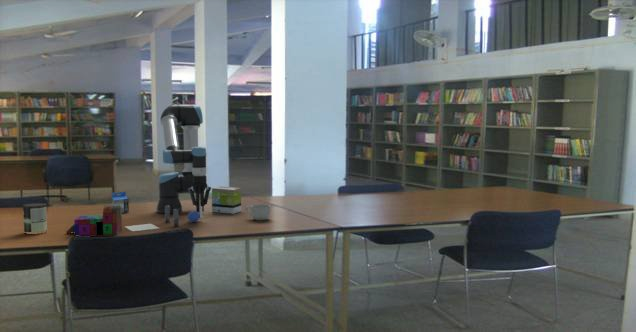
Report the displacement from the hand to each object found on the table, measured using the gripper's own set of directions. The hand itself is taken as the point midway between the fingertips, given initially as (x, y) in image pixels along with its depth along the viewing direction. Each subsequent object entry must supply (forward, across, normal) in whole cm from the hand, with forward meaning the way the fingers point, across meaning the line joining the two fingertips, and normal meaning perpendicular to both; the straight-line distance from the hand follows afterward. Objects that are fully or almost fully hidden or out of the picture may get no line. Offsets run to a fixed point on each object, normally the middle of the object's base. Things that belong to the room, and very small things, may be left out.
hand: (200, 217), depth 303 cm
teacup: (+2, +29, -14) cm, 32 cm away
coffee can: (+2, -79, +19) cm, 81 cm away
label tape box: (+2, -28, +52) cm, 59 cm away
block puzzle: (+2, -55, +3) cm, 55 cm away
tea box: (+2, +25, +18) cm, 31 cm away
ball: (-1, -4, 0) cm, 4 cm away
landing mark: (+2, -32, +1) cm, 32 cm away
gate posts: (+2, -16, 0) cm, 16 cm away
